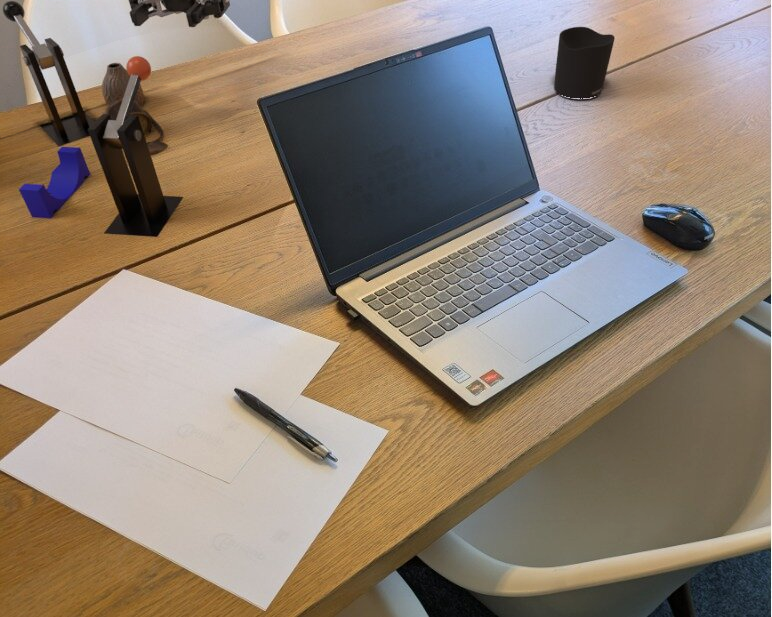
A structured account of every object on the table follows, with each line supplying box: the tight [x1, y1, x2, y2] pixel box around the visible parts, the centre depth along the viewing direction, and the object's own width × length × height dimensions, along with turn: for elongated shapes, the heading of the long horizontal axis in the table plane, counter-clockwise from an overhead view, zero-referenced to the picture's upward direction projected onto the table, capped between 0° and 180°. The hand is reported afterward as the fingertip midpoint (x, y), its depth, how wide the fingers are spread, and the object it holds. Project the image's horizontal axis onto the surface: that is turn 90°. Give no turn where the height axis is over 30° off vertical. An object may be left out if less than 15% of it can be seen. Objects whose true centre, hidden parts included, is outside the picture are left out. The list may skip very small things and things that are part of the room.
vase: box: [101, 62, 145, 108], centre depth 120 cm, size 7×7×9 cm
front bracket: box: [88, 113, 184, 238], centre depth 91 cm, size 10×8×16 cm
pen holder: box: [553, 26, 616, 99], centre depth 119 cm, size 9×9×10 cm
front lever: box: [103, 55, 152, 150], centre depth 89 cm, size 14×3×3 cm, turn 171°
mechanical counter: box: [104, 98, 168, 156], centre depth 110 cm, size 7×13×10 cm
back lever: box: [2, 0, 55, 71], centre depth 108 cm, size 14×3×3 cm, turn 38°
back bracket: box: [19, 37, 95, 148], centre depth 111 cm, size 10×8×16 cm
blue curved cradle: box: [18, 146, 91, 219], centre depth 99 cm, size 12×4×6 cm, turn 171°
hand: (162, 19), depth 96 cm, fingers open, 8 cm apart
